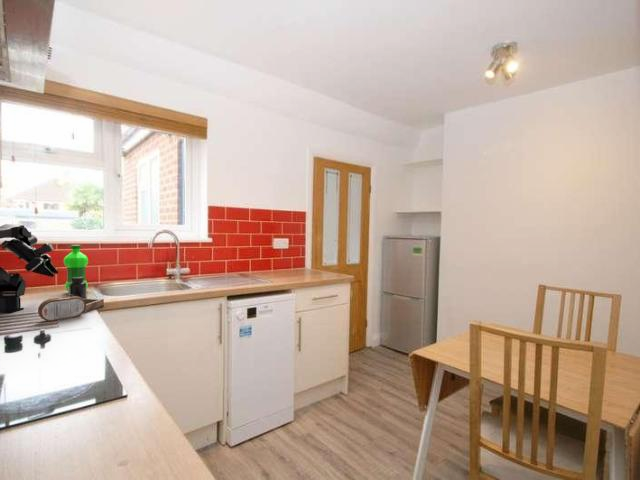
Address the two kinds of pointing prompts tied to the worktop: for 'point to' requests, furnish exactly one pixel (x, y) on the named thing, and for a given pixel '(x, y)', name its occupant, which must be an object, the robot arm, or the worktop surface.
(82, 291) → the supplement bottle
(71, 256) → the plastic bottle
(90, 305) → the keeper collar
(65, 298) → the tin
